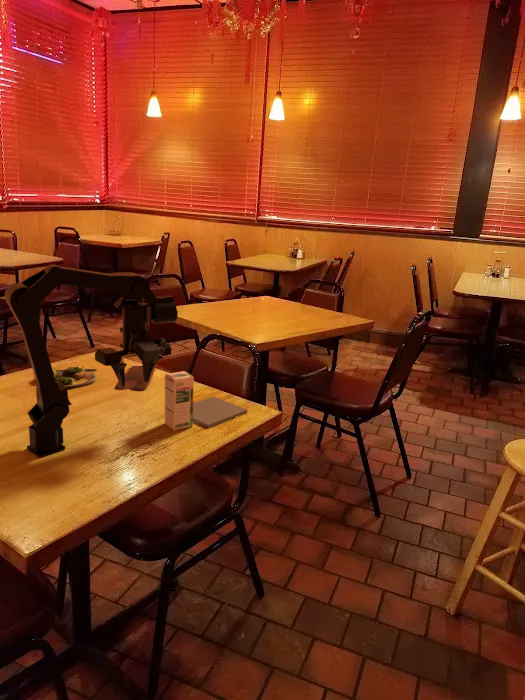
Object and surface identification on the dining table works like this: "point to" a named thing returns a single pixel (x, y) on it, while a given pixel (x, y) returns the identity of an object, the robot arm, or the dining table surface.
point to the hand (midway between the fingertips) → (134, 384)
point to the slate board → (215, 411)
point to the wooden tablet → (135, 379)
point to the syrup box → (179, 400)
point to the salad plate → (74, 376)
